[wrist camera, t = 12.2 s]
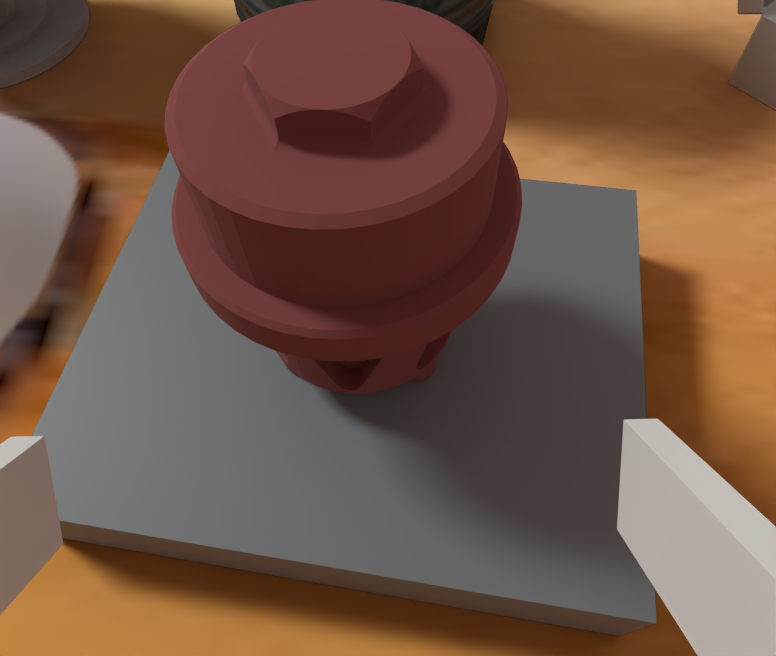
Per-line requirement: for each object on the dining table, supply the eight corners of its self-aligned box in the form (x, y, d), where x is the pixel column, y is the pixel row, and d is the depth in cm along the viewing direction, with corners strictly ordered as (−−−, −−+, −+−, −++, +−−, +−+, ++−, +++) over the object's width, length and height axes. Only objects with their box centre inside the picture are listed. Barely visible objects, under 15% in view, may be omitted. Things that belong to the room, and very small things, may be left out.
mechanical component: (211, 443, 23) (261, 228, 28) (491, 461, 22) (489, 237, 27) (42, 212, 12) (172, -66, 17) (568, 235, 12) (541, -60, 17)
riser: (52, 536, 25) (-4, 509, 22) (196, 200, 34) (172, 143, 31) (618, 636, 23) (656, 623, 19) (611, 246, 32) (636, 190, 28)
